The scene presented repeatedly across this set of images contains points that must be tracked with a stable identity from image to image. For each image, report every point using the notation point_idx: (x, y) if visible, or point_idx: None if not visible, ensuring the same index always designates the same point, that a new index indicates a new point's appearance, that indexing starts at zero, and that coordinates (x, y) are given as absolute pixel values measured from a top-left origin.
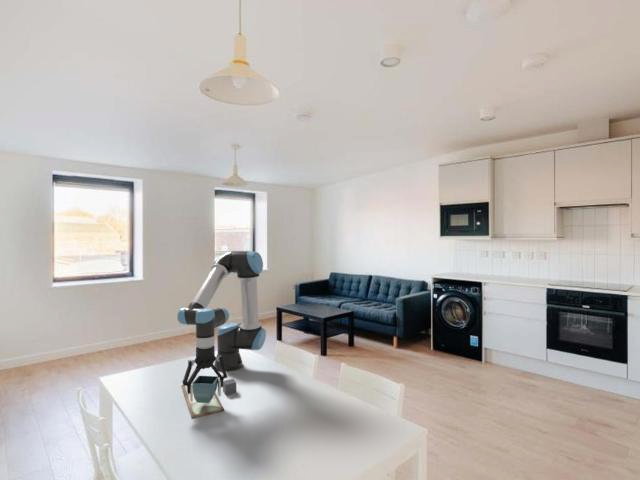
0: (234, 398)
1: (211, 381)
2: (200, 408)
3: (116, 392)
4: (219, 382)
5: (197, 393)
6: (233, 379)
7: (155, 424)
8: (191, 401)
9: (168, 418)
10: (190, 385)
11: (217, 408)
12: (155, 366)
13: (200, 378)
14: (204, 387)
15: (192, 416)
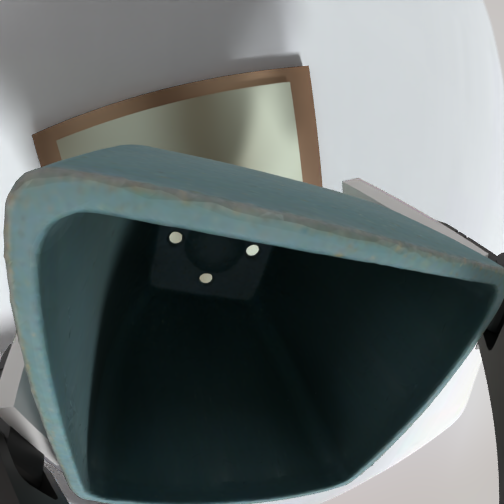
0: (12, 325)
1: (172, 441)
2: None
3: (475, 368)
4: (11, 387)
5: (350, 196)
6: (57, 467)
7: (467, 94)
8: (355, 181)
9: (425, 132)
10: (499, 263)
11: (87, 151)
12: (362, 482)
13: (320, 461)
14: (295, 193)
15: (302, 71)
